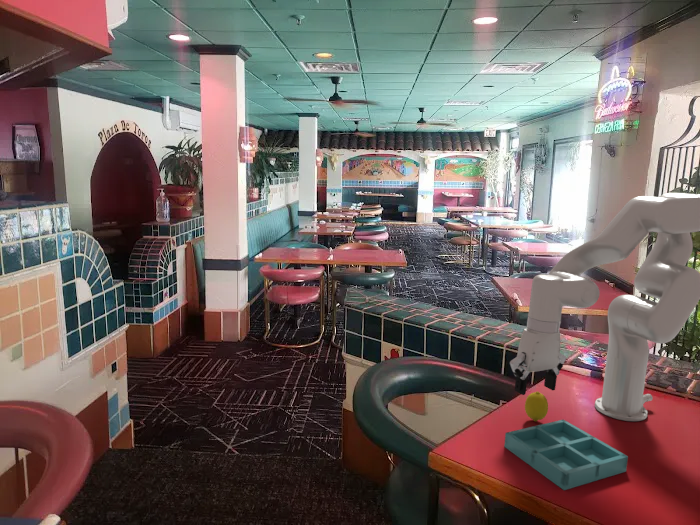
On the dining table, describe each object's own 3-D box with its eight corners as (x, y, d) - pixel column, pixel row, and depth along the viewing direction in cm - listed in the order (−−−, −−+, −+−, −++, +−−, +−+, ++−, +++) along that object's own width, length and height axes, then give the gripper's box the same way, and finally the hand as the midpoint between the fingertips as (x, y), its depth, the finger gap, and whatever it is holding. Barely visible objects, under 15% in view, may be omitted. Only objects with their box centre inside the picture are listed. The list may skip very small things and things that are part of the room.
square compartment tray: (562, 432, 128) (563, 419, 127) (626, 471, 112) (628, 456, 111) (504, 446, 121) (505, 432, 120) (564, 490, 105) (565, 474, 104)
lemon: (548, 427, 130) (551, 397, 129) (525, 424, 131) (527, 395, 130) (544, 417, 136) (547, 388, 134) (522, 415, 137) (525, 386, 135)
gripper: (557, 318, 136) (549, 381, 139) (505, 322, 129) (497, 388, 132) (581, 327, 129) (571, 392, 132) (526, 332, 122) (518, 400, 125)
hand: (534, 390), depth 132 cm, fingers open, 9 cm apart
